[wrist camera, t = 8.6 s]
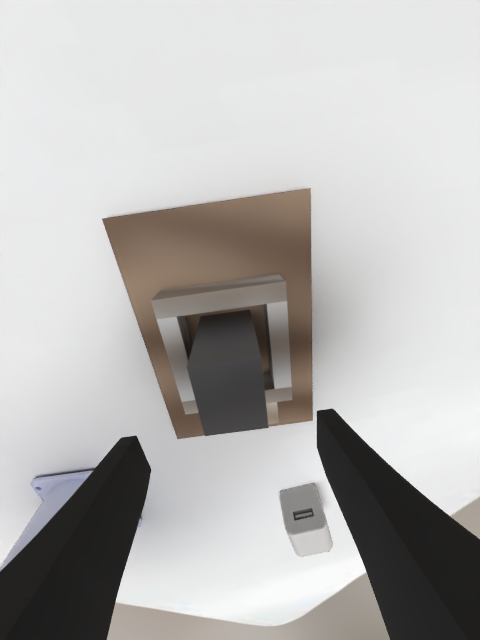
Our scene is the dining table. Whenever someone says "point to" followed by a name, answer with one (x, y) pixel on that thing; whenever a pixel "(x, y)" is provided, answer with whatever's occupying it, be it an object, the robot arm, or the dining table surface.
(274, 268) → the socket dock
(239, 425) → the plug
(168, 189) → the dining table surface
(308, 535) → the usb wall charger
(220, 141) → the dining table surface
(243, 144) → the dining table surface
